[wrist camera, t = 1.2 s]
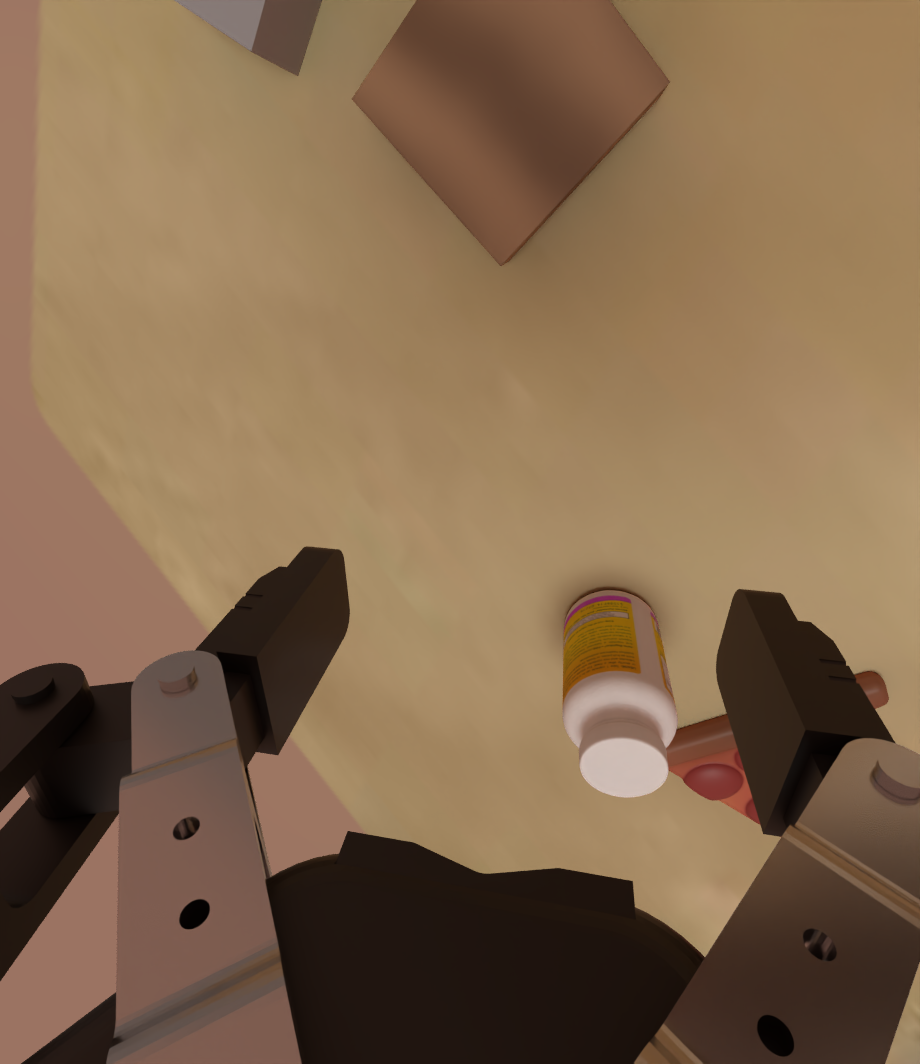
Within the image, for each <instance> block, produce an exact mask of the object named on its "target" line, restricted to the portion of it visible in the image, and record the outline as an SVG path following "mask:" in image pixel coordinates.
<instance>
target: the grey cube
mask: <svg viewBox="0 0 920 1064" xmlns="http://www.w3.org/2000/svg"><path fill="white" fill-rule="evenodd" d="M175 1H176V2H178V3H179V4H181V5H182V6H184V7H185V8H187V9H188V10H190V11H191V12H193V13H194V14H196V15H197V16H199V17H200V18H202V19H203V20H205V21H206V22H208V23H209V24H211V25H212V26H214V27H215V28H217V29H218V30H220V31H221V32H223V33H224V34H226V35H227V36H229V37H230V38H232V39H233V40H235V41H236V42H238V43H239V44H241V45H242V46H244V47H245V48H247V49H248V50H250V51H251V52H253V53H255V54H257V55H259V56H261V57H263V58H264V59H266V60H268V61H270V62H272V63H274V64H276V65H278V66H280V67H282V68H284V69H286V70H287V71H289V72H291V73H293V74H295V75H297V76H298V75H299V71H300V68H301V65H302V62H303V59H304V56H305V52H306V49H307V46H308V43H309V40H310V37H311V33H312V30H313V27H314V24H315V21H316V17H317V14H318V11H319V8H320V5H321V2H322V0H175Z"/></svg>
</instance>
